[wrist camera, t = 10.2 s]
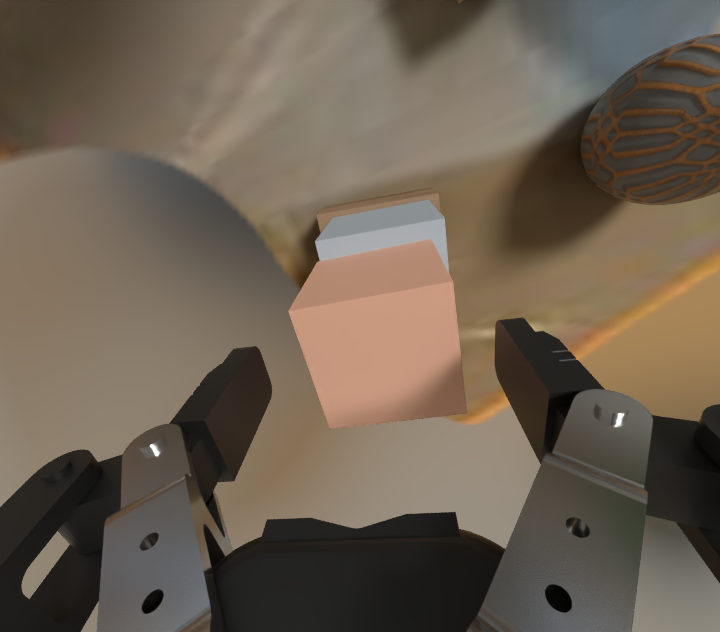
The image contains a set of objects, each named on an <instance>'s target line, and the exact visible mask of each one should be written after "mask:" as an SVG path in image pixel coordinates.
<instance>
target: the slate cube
mask: <svg viewBox="0 0 720 632" xmlns="http://www.w3.org/2000/svg"><path fill="white" fill-rule="evenodd" d="M427 239H432V241H433V243H434V245H435V247H436V249H437V251H438V253H439V255H440V257H441V259H442V261H443V263H444V265H445V267H446V269H447V271H448V273H449V268H448V255H447V242H446V230H445V218H444V217H443V216H442V215H441V213H440V212H439V211H438V210H437V209H436V208H435V206H434V205H433V204H432V203H431V202H430V201H429V200H424V201H418V202H413V203H408V204H402V205H397V206H392V207H386V208H381V209H376V210H371V211H365V212H360V213H355V214H349V215H344V216H339V217H333V218H332V219H331V221H330V222H329V223H328V225H327V226H326V227H325V229H324V230H323V231H322V233H321V234H320V235H319V237H318V238H317V239H316V241H315V244H316V248H317V252H318V256H319V260H320V261H323V260H328V259H333V258H338V257H343V256H348V255H353V254H358V253H363V252H368V251H373V250H378V249H383V248H388V247H393V246H398V245H403V244H408V243H412V242H417V241H422V240H427Z"/></svg>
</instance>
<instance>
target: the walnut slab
mask: <svg viewBox="0 0 720 632" xmlns="http://www.w3.org/2000/svg"><path fill="white" fill-rule="evenodd" d="M424 200H429V201H430V202H431V203H432V204H433V205H434V206H435V208H436V209H437V210H438V211H439V212H440V205H439V193H438V192H436V191H435V190H434V189H432V188H427V189H422V190H416V191H411V192H405V193H399V194H394V195H388V196H383V197H377V198H372V199H366V200H360V201H355V202H349V203H344V204H338V205H333V206H327V207H324V208H323V209H322V210H321V211H320V212H319V213H318V214H317V215H316V216H317V220H318V224H319V229H320V233H322V231H323V230H324V229H325V227H326V226H327V225H328V223H329V222H330V221H331V219H332V218H333V217H339V216H344V215H349V214H355V213H360V212H365V211H371V210H376V209H381V208H386V207H392V206H397V205H402V204H408V203H413V202H418V201H424Z"/></svg>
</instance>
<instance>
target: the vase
mask: <svg viewBox="0 0 720 632" xmlns="http://www.w3.org/2000/svg"><path fill="white" fill-rule="evenodd" d="M581 157H582V162H583V165H584V168H585V170H586V172H587V174H588V176H589V177H590V178H591V180H592V181H593V182H594V183H595V184H596V185H597V186H598V187H599V188H600V189H602V190H603V191H605V192H606V193H608V194H610V195H611V196H614V197H616V198H619V199H622V200H625V201H629V202H633V203H639V204H647V205H666V204H675V203H681V202H687V201H692V200H695V199H699V198H703V197H706V196H709V195H712V194H715V193H718V192H720V34H714V35H708V36H702V37H698V38H694V39H691V40H688V41H685V42H682V43H678V44H676V45H674V46H671V47H669V48H666V49H664V50H662V51H660V52H658V53H656V54H654V55H652V56H650V57H648V58H646V59H644V60H643V61H641V62H640V63H638V64H637V65H635V66H634V67H632V68H631V69H630V70H628V71H627V72H626V73H624V74H623V75H622V76H621V77H620V78H619V79H617V80H616V81H615V82H614V83H613V84H612V85H611V86H610V87H609V88H608V89H607V90H606V92H605V93H604V94H603V95H602V96H601V98H600V99H599V100H598V102H597V103H596V105H595V106H594V108H593V110H592V111H591V113H590V115H589V117H588V119H587V121H586V124H585V127H584V130H583V134H582V139H581Z"/></svg>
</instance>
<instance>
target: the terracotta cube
mask: <svg viewBox="0 0 720 632" xmlns="http://www.w3.org/2000/svg"><path fill="white" fill-rule="evenodd" d="M288 312H289V315H290V318H291V321H292V324H293V326H294V329H295V332H296V335H297V338H298V340H299V343H300V346H301V349H302V352H303V355H304V357H305V360H306V363H307V366H308V369H309V371H310V374H311V377H312V380H313V383H314V386H315V389H316V391H317V394H318V397H319V400H320V403H321V405H322V408H323V411H324V414H325V417H326V419H327V422H328V425H329V428H330V429H337V428H345V427H353V426H362V425H371V424H379V423H388V422H396V421H405V420H413V419H423V418H431V417H440V416H448V415H457V414H465V413H467V408H466V399H465V390H464V380H463V371H462V362H461V352H460V343H459V334H458V324H457V315H456V306H455V296H454V287H453V281H452V279H451V277H450V275H449V273H448V271H447V269H446V267H445V265H444V263H443V261H442V259H441V257H440V255H439V253H438V251H437V249H436V247H435V245H434V243H433V241H432V239H427V240H422V241H417V242H412V243H408V244H403V245H398V246H393V247H388V248H383V249H378V250H373V251H368V252H363V253H358V254H353V255H348V256H343V257H338V258H333V259H328V260H323V261H318V262H317V263H316V265H315V267H314V268H313V270H312V272H311V273H310V275H309V277H308V279H307V280H306V282H305V284H304V285H303V287H302V289H301V290H300V292H299V294H298V296H297V297H296V299H295V300H294V302H293V304H292V306H291V307H290V309H289V311H288Z"/></svg>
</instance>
